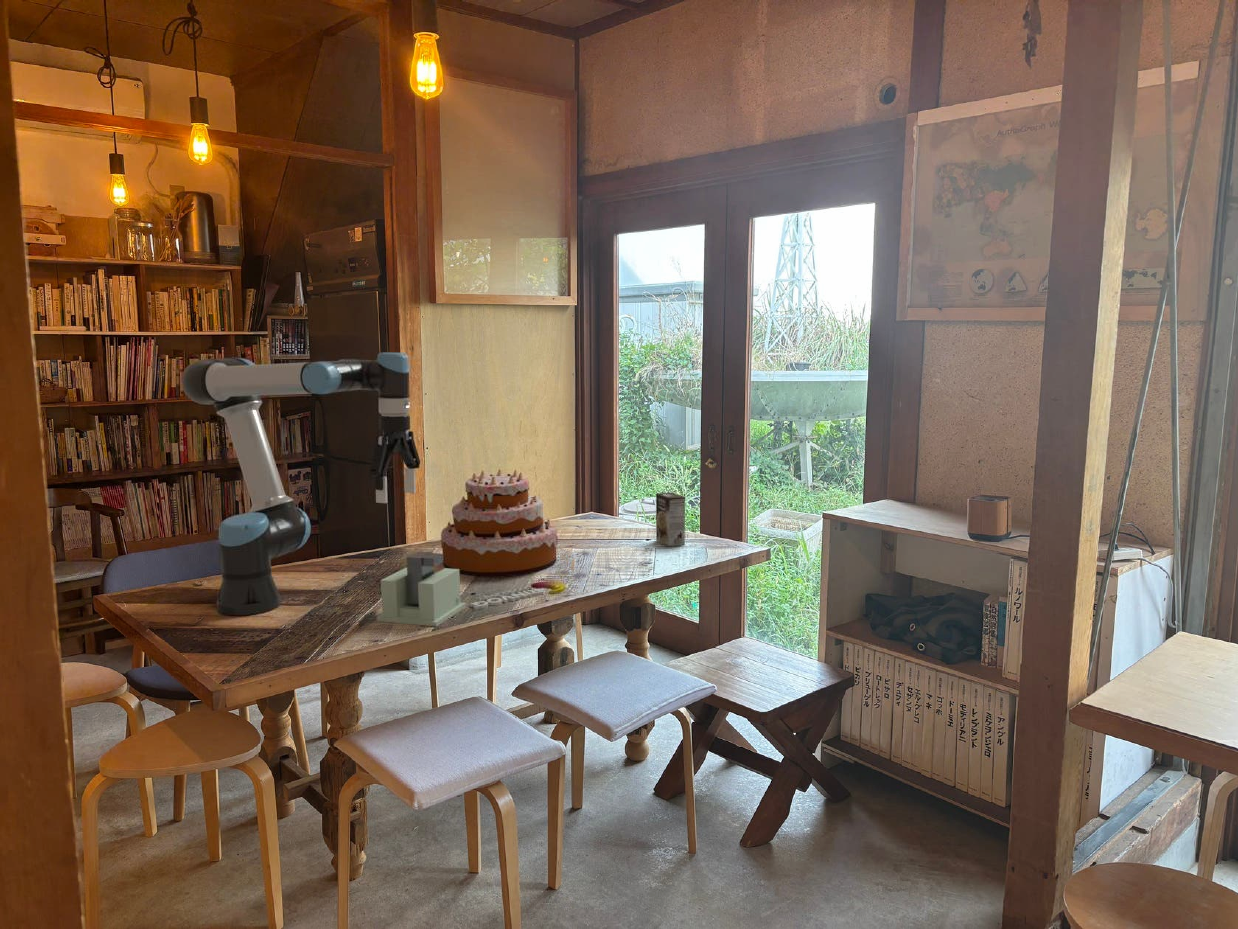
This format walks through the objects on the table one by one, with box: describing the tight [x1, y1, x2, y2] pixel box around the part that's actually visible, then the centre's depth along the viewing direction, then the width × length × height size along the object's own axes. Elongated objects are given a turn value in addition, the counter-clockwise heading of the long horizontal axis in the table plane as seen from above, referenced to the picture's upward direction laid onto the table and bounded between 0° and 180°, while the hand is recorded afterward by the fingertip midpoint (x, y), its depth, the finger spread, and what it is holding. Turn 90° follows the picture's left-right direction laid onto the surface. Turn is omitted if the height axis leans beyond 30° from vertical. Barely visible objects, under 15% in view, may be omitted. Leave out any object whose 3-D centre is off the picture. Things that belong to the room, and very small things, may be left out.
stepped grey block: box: [406, 551, 443, 607], centre depth 222 cm, size 7×6×14 cm
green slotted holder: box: [376, 566, 467, 627], centre depth 223 cm, size 16×16×10 cm
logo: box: [470, 581, 566, 611], centre depth 238 cm, size 29×1×10 cm
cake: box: [440, 468, 559, 578], centre depth 272 cm, size 35×35×28 cm
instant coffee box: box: [655, 492, 686, 547], centre depth 295 cm, size 9×6×16 cm
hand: (396, 498), depth 229 cm, fingers open, 13 cm apart
